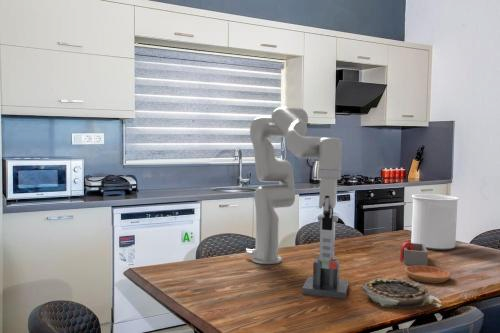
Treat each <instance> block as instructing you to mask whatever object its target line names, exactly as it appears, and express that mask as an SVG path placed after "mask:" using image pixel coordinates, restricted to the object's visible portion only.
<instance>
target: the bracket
mask: <svg viewBox="0 0 500 333" xmlns="http://www.w3.org/2000/svg"><path fill="white" fill-rule="evenodd" d="M407 247H408V250H413V251H414V247H413V244H412V243H411V241H405V243H404V244H403V243H402V244H401V248H400V253H399V254H400V256H399V262H402V263H404V248H407Z"/></svg>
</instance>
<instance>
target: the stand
mask: <svg viewBox="0 0 500 333" xmlns="http://www.w3.org/2000/svg"><path fill="white" fill-rule="evenodd" d="M312 263H313V268H312V269H313V270H312V271H313V272H312V276H308V275H307V276H308V277H307V278H306V280H305V282H304V284H303V286H302V289H301V294H302V295H310V296H318V297H325V298H326V297H327V298H337V299H346V296H347V292H348V288H349V280H348V279H341V278H340V258H334V261H329V269H326V268H321V262H319V256H317V257H315V259H314V261H313V262H312ZM339 278H340V279H339Z"/></svg>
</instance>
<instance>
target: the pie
mask: <svg viewBox="0 0 500 333" xmlns="http://www.w3.org/2000/svg"><path fill="white" fill-rule="evenodd" d="M358 288H359V289H360V288H361V289H362V291H363V292H364V293H365V294H366V295H368V296H369V300H370V301H371V302H374V301H375V302H378V303H379V304H378V303H377V304H378V305H379V306H380V305H381V306H380V307H384V306H385V308H392V309H394V308H395V309H413V308H420V307H423V306H425V305H428V304H433V305H435V307H436V308H441V306H442V304H441V303H442V302H441V300H440V299H439V298H438V297H436V296H434V295H431V291H430V290H429V289H428V288H427V287H425V285H424V284H421V283H420V282H416V281H415V280H414V281H413V280H407V279H402V278H395V277H393V278H389V277H388V278H387V277H386V278H385V277H381V278H372V279H370V280H367V281H366V282H363V283H362V284H361V286H359V287H358ZM434 300H435V301H437V302H438V303H437V302H436V303H435V302H433V301H434ZM375 302H374V303H375Z"/></svg>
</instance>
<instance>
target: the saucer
mask: <svg viewBox="0 0 500 333" xmlns="http://www.w3.org/2000/svg"><path fill="white" fill-rule="evenodd" d="M404 270H405V273H406V275H407V276H408V277H409V278H410V279H412V280H414V281H417V282H420V281H421V283H425V284H427V283H428V284H442V283H445V282H446V281H448V280H450V278H451V275H452V274H451V273H450V271H448V270H445V269H443V268H439V267H435V266H429V265H427V266H415V265H407V266H406V267H405V269H404Z"/></svg>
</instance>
